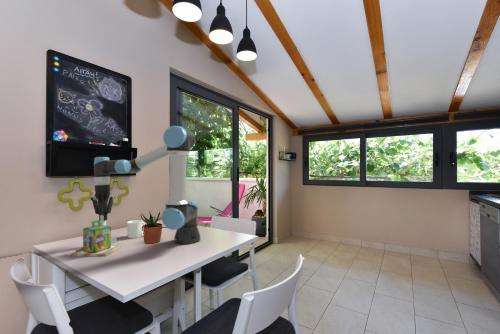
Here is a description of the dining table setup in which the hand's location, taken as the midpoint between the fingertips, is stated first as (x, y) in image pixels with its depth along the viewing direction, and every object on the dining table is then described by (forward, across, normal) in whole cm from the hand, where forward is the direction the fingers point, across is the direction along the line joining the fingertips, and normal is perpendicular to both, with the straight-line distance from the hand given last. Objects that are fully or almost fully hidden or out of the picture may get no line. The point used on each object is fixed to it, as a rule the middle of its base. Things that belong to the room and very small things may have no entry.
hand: (103, 226), depth 139 cm
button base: (+10, +1, 0) cm, 10 cm away
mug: (+11, -11, -16) cm, 22 cm away
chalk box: (+9, -4, +12) cm, 16 cm away
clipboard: (+10, -4, +12) cm, 17 cm away
